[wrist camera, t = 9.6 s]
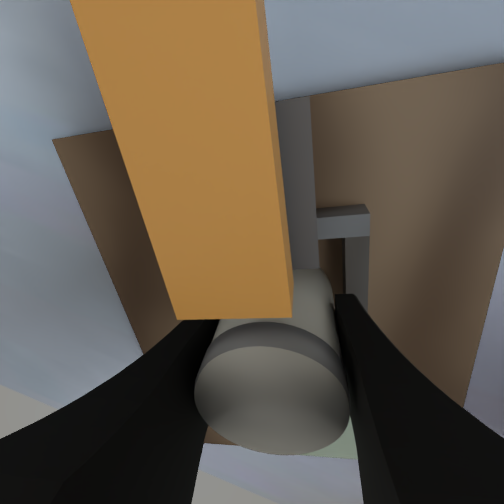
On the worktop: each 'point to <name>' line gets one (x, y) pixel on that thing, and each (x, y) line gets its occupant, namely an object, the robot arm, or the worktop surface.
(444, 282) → the board
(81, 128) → the worktop surface
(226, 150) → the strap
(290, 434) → the plug
